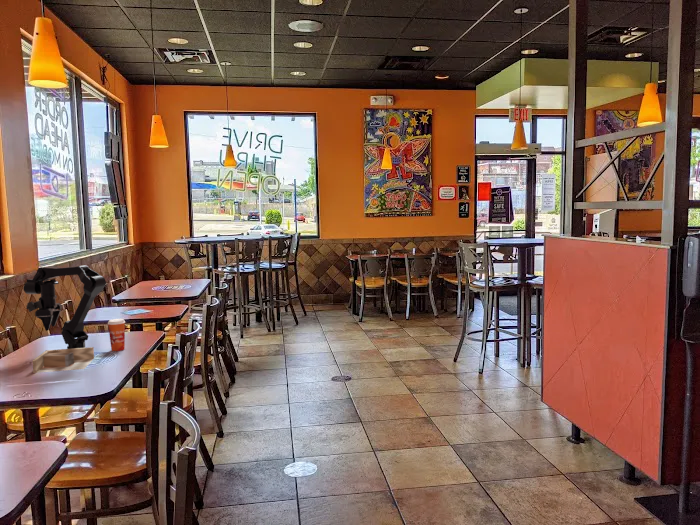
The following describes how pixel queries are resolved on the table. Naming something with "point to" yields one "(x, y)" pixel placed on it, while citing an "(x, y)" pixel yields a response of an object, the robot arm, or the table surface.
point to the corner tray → (80, 362)
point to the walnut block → (58, 359)
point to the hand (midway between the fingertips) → (50, 328)
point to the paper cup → (117, 334)
